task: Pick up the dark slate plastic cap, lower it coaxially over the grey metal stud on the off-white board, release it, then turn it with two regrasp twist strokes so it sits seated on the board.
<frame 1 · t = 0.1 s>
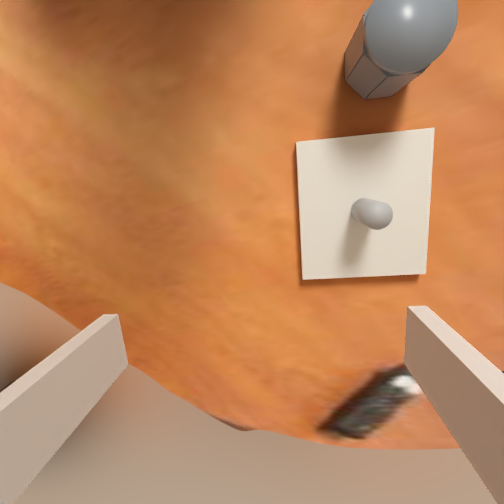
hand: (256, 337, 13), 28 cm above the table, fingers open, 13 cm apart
stud board: (360, 208, 38), on the table
cap: (378, 62, 34), on the table
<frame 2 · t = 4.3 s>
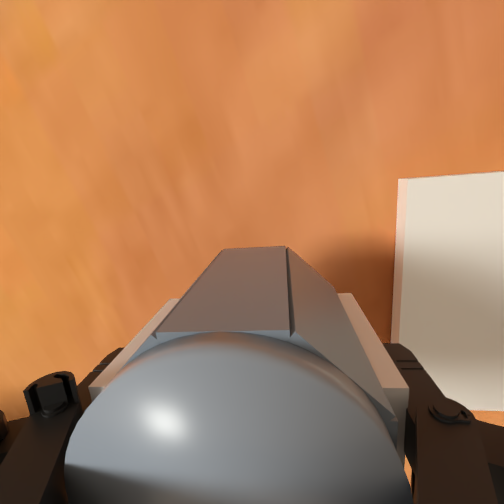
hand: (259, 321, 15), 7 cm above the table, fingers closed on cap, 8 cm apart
cap: (259, 318, 15), point 6 cm above the table, touching gripper
when the fingers open (3 cm above the table, at t = 8.6 s): cap stays where it is, resting on stud board.
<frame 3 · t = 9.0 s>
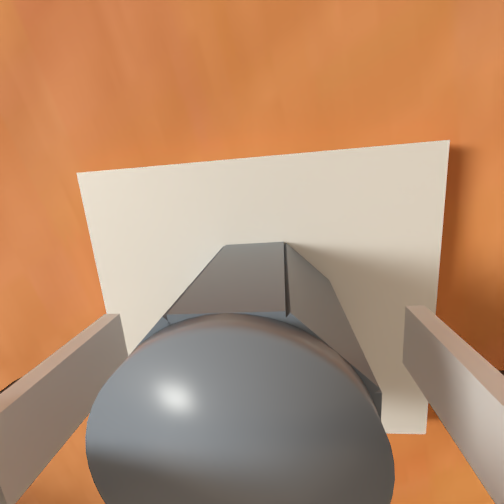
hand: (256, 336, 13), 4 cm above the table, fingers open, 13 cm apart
stud board: (262, 299, 17), on the table
cap: (259, 310, 16), point 1 cm above the table, touching stud board
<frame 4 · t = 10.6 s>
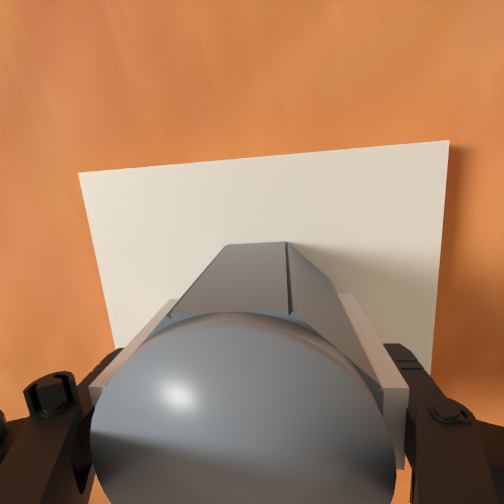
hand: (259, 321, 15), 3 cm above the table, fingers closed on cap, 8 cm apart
stud board: (263, 299, 17), on the table
cap: (260, 310, 16), point 2 cm above the table, touching gripper, stud board
when the fingers open (3 cm above the table, at t = 11.6 s): cap stays where it is, resting on stud board.
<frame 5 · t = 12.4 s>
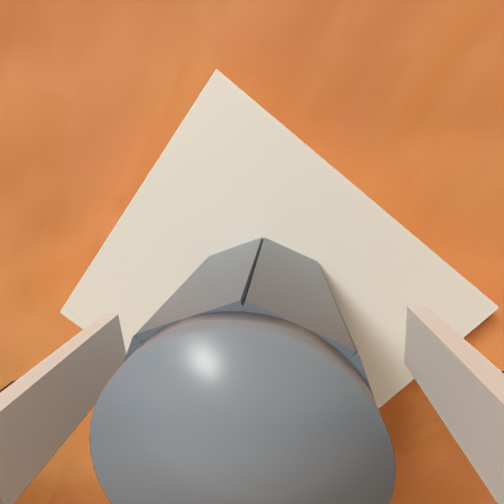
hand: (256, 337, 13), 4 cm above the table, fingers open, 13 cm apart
stud board: (262, 299, 17), on the table
cap: (260, 310, 16), point 1 cm above the table, touching stud board
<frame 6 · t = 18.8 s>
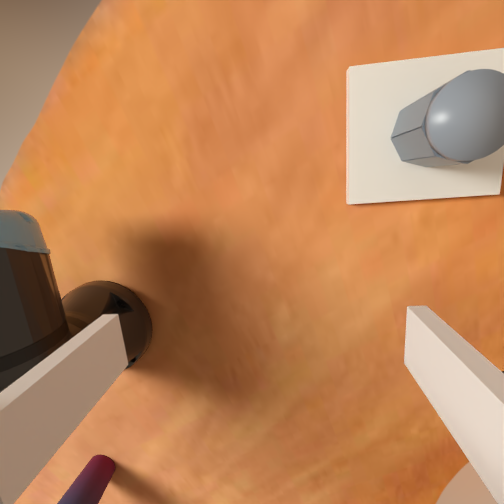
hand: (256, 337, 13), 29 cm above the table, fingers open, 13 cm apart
stud board: (420, 133, 36), on the table
cup: (103, 464, 55), on the table
cap: (426, 132, 35), point 1 cm above the table, touching stud board
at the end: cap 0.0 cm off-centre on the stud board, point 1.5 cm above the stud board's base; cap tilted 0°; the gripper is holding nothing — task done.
